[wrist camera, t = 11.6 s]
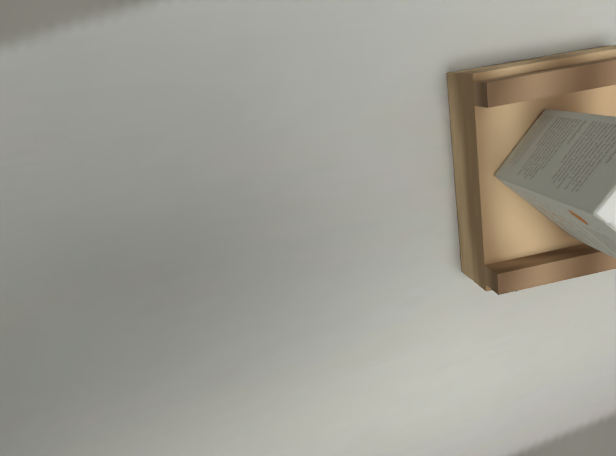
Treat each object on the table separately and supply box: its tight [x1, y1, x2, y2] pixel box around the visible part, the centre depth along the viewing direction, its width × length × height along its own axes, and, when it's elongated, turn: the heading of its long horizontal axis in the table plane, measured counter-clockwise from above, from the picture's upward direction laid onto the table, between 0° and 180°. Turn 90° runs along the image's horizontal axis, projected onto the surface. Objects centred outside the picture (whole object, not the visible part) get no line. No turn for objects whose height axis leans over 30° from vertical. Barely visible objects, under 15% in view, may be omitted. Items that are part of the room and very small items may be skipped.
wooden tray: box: [447, 45, 616, 295], centre depth 39 cm, size 12×15×6 cm
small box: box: [495, 109, 616, 258], centre depth 33 cm, size 8×6×10 cm
